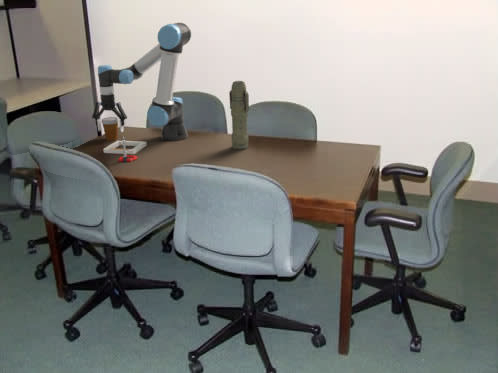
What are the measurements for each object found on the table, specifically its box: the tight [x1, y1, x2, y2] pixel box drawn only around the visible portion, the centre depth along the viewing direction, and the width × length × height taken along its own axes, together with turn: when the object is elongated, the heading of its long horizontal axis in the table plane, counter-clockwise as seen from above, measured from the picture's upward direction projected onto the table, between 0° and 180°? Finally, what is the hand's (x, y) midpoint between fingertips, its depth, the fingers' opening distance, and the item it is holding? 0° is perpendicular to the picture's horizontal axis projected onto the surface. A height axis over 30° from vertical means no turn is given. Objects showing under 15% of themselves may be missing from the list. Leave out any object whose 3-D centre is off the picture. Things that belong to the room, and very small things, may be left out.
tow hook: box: [118, 135, 138, 163], centre depth 278 cm, size 8×13×9 cm
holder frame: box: [103, 140, 148, 155], centre depth 297 cm, size 17×17×2 cm
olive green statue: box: [228, 80, 250, 150], centre depth 290 cm, size 9×12×35 cm
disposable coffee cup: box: [101, 116, 120, 142], centre depth 314 cm, size 10×10×12 cm
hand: (110, 131), depth 314 cm, fingers open, 13 cm apart
